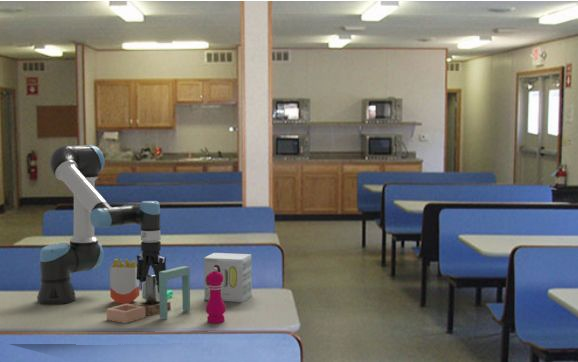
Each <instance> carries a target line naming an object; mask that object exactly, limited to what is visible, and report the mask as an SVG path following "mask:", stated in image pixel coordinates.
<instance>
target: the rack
mask: <svg viewBox="0 0 578 362" xmlns="http://www.w3.org/2000/svg"><path fill="white" fill-rule="evenodd" d="M144 317H145V318H146V317H147V316H146V314H145V307H143V306H138V305H134V303H132V304H131V303H122V304H119V305H116V306H112V307H109V308H106V320H107V321H111V320H112V322H116V321H117V323H121V322H122V324H128V322H129V323H131V321H132V322H135V321H139V320H141V318H142V319H145V318H144ZM134 320H135V321H134Z"/></svg>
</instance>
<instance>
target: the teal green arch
mask: <svg viewBox="0 0 578 362" xmlns="http://www.w3.org/2000/svg"><path fill="white" fill-rule="evenodd" d="M190 267H191V266H185V265H182V266H178V267H174V268H171V269H170V268H169V269H166V270H165V271H160V272H159V301H160V313H159V318H161V319H165V320H166V319H168V311H167V302H168V299H167V290H168V281H169V280H173V279H178V278H181V281H182V282H181V284H182V285H181V288H182V289H181V290H182V291H181V293H182V311H183V312H191V294H190V293H191V280H190V279H191V278H190V276H191V274H190V273H191V272H190Z"/></svg>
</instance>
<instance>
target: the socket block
mask: <svg viewBox="0 0 578 362" xmlns="http://www.w3.org/2000/svg"><path fill="white" fill-rule="evenodd" d="M133 305H138V306H143V307H145V315H148V314H149V316H154V314H155V315H157V313H158V314H160V301H158V304H157V305H153V306H150V305H146V300H143V301H140V302H136V303H133ZM171 308H172V307H171V301H167V312H169V311H171Z"/></svg>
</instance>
